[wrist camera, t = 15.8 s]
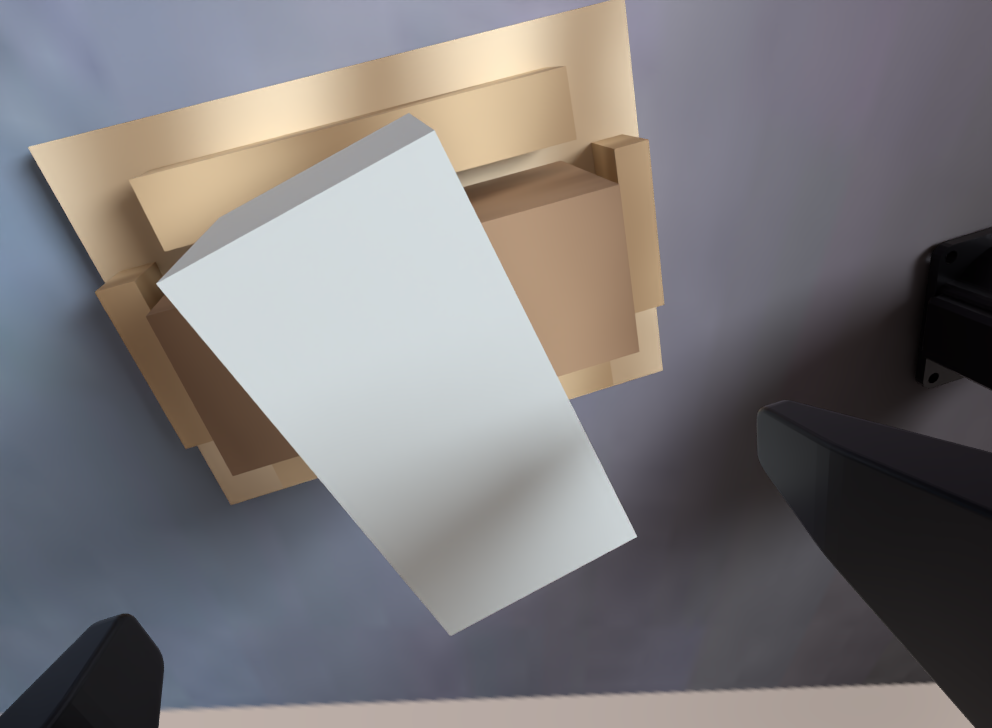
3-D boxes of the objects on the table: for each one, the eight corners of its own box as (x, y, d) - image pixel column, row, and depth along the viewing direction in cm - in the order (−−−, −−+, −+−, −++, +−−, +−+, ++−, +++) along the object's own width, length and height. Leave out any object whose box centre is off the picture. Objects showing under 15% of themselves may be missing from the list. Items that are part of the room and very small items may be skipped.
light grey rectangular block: (219, 217, 12) (156, 283, 8) (408, 112, 12) (434, 129, 8) (427, 502, 17) (450, 635, 13) (569, 426, 17) (637, 536, 13)
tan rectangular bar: (560, 160, 18) (619, 184, 14) (582, 297, 20) (639, 351, 16) (194, 260, 17) (145, 316, 13) (258, 393, 19) (232, 476, 15)
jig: (610, 0, 17) (653, -12, 15) (650, 359, 23) (686, 393, 20) (46, 143, 16) (-11, 155, 13) (235, 487, 21) (220, 540, 19)
